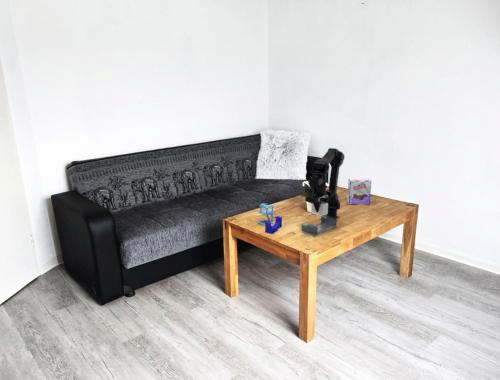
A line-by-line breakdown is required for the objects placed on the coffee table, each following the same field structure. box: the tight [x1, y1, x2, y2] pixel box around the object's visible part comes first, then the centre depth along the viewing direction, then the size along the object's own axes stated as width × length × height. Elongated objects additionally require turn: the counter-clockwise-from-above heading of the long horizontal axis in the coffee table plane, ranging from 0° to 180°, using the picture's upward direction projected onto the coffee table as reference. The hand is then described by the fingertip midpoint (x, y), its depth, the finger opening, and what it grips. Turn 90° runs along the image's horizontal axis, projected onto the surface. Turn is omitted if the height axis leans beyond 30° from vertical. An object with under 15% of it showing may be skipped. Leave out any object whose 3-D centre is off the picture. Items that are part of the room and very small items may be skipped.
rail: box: [300, 215, 338, 237], centre depth 225 cm, size 20×9×5 cm, turn 134°
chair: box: [256, 202, 275, 227], centre depth 235 cm, size 8×8×12 cm
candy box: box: [346, 178, 372, 205], centre depth 265 cm, size 14×6×16 cm, turn 88°
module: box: [310, 200, 328, 216], centre depth 222 cm, size 4×8×6 cm, turn 43°
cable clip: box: [264, 215, 283, 235], centre depth 226 cm, size 12×4×6 cm, turn 142°
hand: (319, 211), depth 223 cm, fingers closed on module, 4 cm apart
